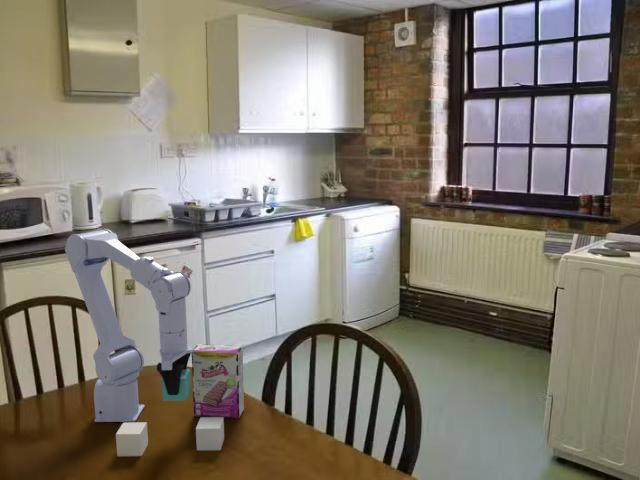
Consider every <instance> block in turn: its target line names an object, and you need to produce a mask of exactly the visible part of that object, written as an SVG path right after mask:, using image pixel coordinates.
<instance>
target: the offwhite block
mask: <svg viewBox="0 0 640 480" xmlns="http://www.w3.org/2000/svg"><path fill="white" fill-rule="evenodd" d="M115 442H116V456H117V457H142V456H143V454H144V452H145V451H146V449H147V447H148V444H149V435H148V422H144V421H143V422H142V421H141V422H140V421H139V422H136V421H134V422H123V423H122V424H121V425H120V427H119V428H118V430H117V432H116V434H115Z"/></svg>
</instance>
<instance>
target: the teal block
mask: <svg viewBox="0 0 640 480" xmlns="http://www.w3.org/2000/svg"><path fill="white" fill-rule="evenodd" d="M191 389H192V386H191V370H190V369H188V368H186V369H183V370H182V373H181V378H180V388H179V393H178V395H168V393H167V390H166V386H165V383H164V380H163V378H162V377H161V390H162V402H164V401H168V402H169V401H175V402H176V401H187V399H188V397H189V395H190V394H191Z"/></svg>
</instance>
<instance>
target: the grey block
mask: <svg viewBox="0 0 640 480" xmlns="http://www.w3.org/2000/svg"><path fill="white" fill-rule="evenodd" d="M224 420H225V418H224V417H200V418H199V420H198V422H197V425H196V427H195V439H196V443H195V444H196V451H221V450H222V447H223V443H224V441H225V421H224Z"/></svg>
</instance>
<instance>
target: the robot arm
mask: <svg viewBox="0 0 640 480" xmlns="http://www.w3.org/2000/svg"><path fill="white" fill-rule="evenodd" d="M118 237H119V236H118V235H117V233H115V232H113V231H112V230H110V229H108V228H102V229H101V230H100V229H99V230H95V231H88V232H82V233H73V234H70V235H69V236H68V238H67V240H66V241H67V242H66V245H65V247H64V251H65V254H66V257H67V260H68V263H69V265H70V268H71V272H73V274H74V275H75V279H76V281H77V285H78V287H79V290H80V292H81V295H82V297H83V300H84V303H85V305H86V309H87V311H88V314H89V316H90V319H91V323H92V326H93V328H94V330H95V333H96V336H97V338H98V341H99V345H98V347H97V348H96V350H95V351H94V353H93V355H92V357H93V360H94V364H95V365H94V366H95V373H96V376H97V378H98V379H97V380H96V382H95V385H94V388H93V401H94V402H93V403H94V412H95V413H94V414H95V415H94V416H95V418H94V422H95V423H114V422H115V423H117V422H119V423H121V422H123V423H129V422H136V421H137V420H138V418H139V417H140V415H141V413H142V411H143V410H144V408H145V404H139V388H138V386H139V385H138V377H139V376H140V371H141V370H142V369H143V367H144V365H145V360H144V355H143V353H142V351H141V350H140V349H139V347H138V345H137V344H136V342H135V339H133V338H131V337H128V336H126V335H124V333H123V331H122V328H121V326H120V323H119V320H118V317H117V315H116V311H115V308H114V305H113V304H112V301H111V298H110V295H109V292H108V290H107V287H106V285H105V282H104V279H103V276H102V274H101V273H102V269H103V268H104V267H105V266H106V265H107V264H108V262H109V261H112V262H114V263H115V264H117V265H120V266H122V267H123V268H124V269H127V270H128V271H130V272H129V273H130V277H131V279H133V280H134V281H135V282H137V283H138V284H140V285H141V286H143V287H144V288H145V289H147V290H148V291H150V294H151V297H152V298H153V300H154V302H155V303H154V304H155V308H156V310H157V312H158V328H159V329H158V330H159V343H160V344H159V345H160V349H159V355H160V358H161V361H160V362H158V363H157V365H156V370H157V372H158V373H159V375H160V376H161V379H162V378H163V380H164V383H165V386H166V390H167V393H168V395H178V393H179V388H180V378H181V373H182V370H183V369H188V364H189V363H188V362H189V360H190V357H191V356H192V352H193V349H194V347H193V346H189V345H188V328H187V327H188V325H187V324H188V323H187V304H186V298H187V297H188V296H189V295H190V293H191V289H192V287H191V281H190V279H189V277H188V276H187V275H186V274H185V273H184V272H183V271H178V270H177V271H172V270H170V269H169V268H168V267H164V266H163V265H161V264H160V263H158V262H156V261H155V258H154V257H152V256H142V257H140V256H138V255H137V254H136V253H135V252H133V251H132V250H131V249H130V248H128V247H127V246H126V245H124V244H123V243H122V242H121V241H120V240H119V238H118ZM117 350H118V351H117ZM113 351H116V352H113ZM112 352H113V353H112Z"/></svg>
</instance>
